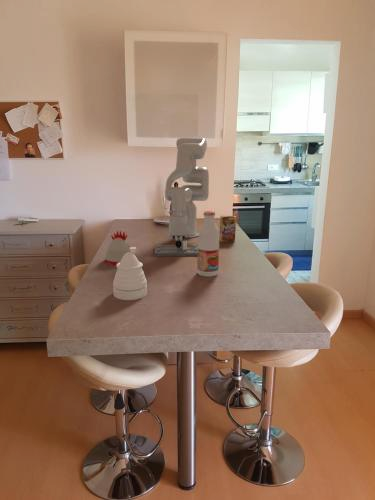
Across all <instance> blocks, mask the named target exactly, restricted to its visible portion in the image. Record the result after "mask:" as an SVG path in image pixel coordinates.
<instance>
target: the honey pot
mask: <svg viewBox="0 0 375 500" xmlns="http://www.w3.org/2000/svg"><path fill="white" fill-rule="evenodd" d="M130 251H131V252H127V253H126V254H125V255H124V256H123V258H122V259H121V261H120V262H119V263H118V264H117V265H115V267H116V268H117V270H116V271H115V276H114V279H113V281H112V285H113V289H112V290H113V296H114V298H116V299H118V300H124V301H135V300H139V299H142V298H144V297H146V296H147V294H148V284H147V283H148V281H147V278H146V276H145V272H144V270H143V263H142V262H141V261H139V260H138V258H137V256H136V255H135V253H136V251H137V247H136V246H131V247H130Z"/></svg>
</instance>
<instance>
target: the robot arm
mask: <svg viewBox="0 0 375 500" xmlns="http://www.w3.org/2000/svg"><path fill="white" fill-rule="evenodd" d="M175 142H176V143H175V144H176V148H177V153H176V164H175V168H174V170H173V171H172V172H171V173H170V174H169V176H168V177H167V179H166V183H165V190H164V198H165V199H166V201H168V202H171V210H168V214H169V215H170V216H169V221H168V236H167V237H168V238H172V239H173V240H174V241H175V245H176V246H177V248H180V246H181V241H182V242H183V241H184V240H185V238H186V239H188V238H197V237H199V234H198V232H197V212H198V211H197V209H198V208H197V205H196V203H194V202H197V201H198V202H205V201H207V200H208V199H209V193H210V187H209V182H210V175H209V169H208V168H207V167H206V166H205V167H204V166H197V160H203V159H204V157H205V154H206V152H207V148H208V147H207V146H208V143H207V140H206V139H205V138H204V137H180V138H178V139H176V141H175ZM180 178H182V181H183V182H184V183H188V184H184V185H182V186H179V187H178V186H172V185H173V184H174V182H175V181H176V180H178V179H180ZM178 236H179V238H180V239H179V241H178Z"/></svg>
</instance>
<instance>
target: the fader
mask: <svg viewBox="0 0 375 500" xmlns="http://www.w3.org/2000/svg"><path fill="white" fill-rule="evenodd" d="M182 245H183V250H187V245H188V241H187V240H186V239H183V240H182Z"/></svg>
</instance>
